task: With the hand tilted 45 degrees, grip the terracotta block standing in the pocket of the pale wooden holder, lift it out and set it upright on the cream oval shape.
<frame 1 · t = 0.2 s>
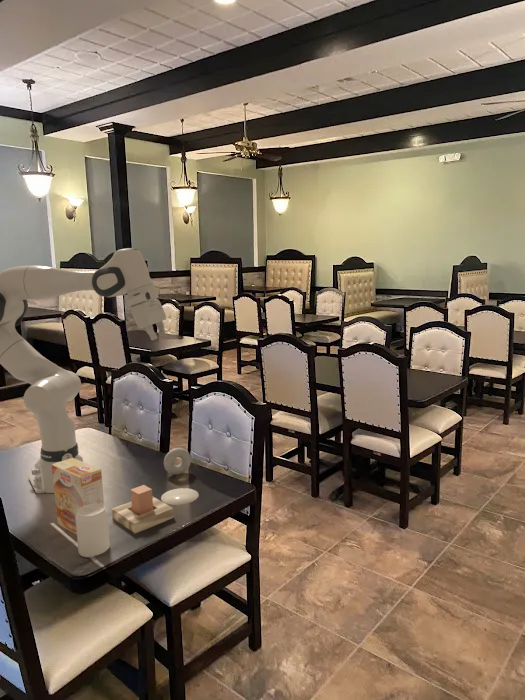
hand: (159, 337, 173), 52 cm above the table, tool tilted 20°, fingers open, 8 cm apart
holder: (143, 520, 160), on the table
cream oval shape: (180, 499, 173), on the table
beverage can: (94, 551, 144), on the table
block: (143, 517, 159), point 1 cm above the table, touching holder
coffeecake box: (81, 530, 155), on the table
donut: (178, 474, 193), on the table
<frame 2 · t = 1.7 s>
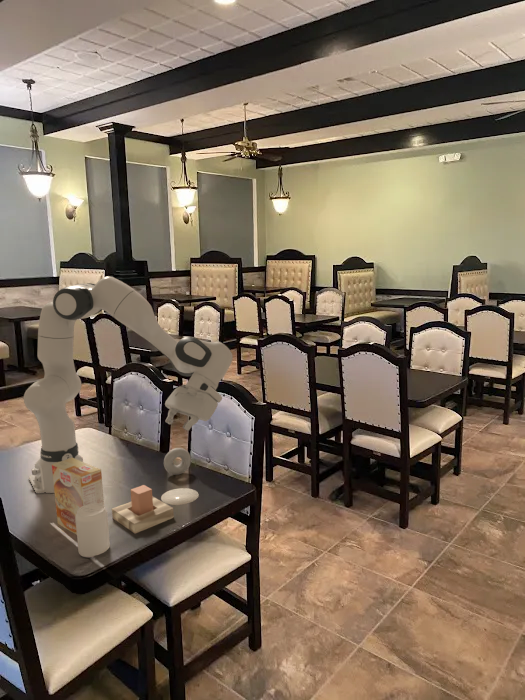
hand: (176, 426, 164), 26 cm above the table, tool tilted 45°, fingers open, 8 cm apart
nothing on the table moved.
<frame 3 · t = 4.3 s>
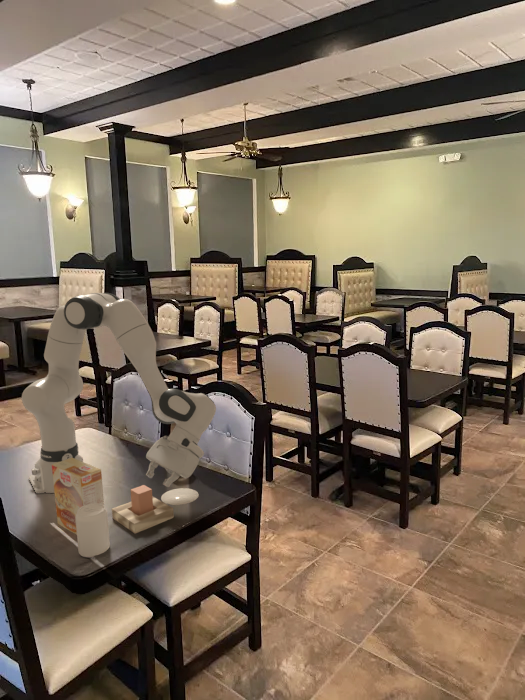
hand: (156, 481, 161), 11 cm above the table, tool tilted 45°, fingers open, 8 cm apart
nothing on the table moved.
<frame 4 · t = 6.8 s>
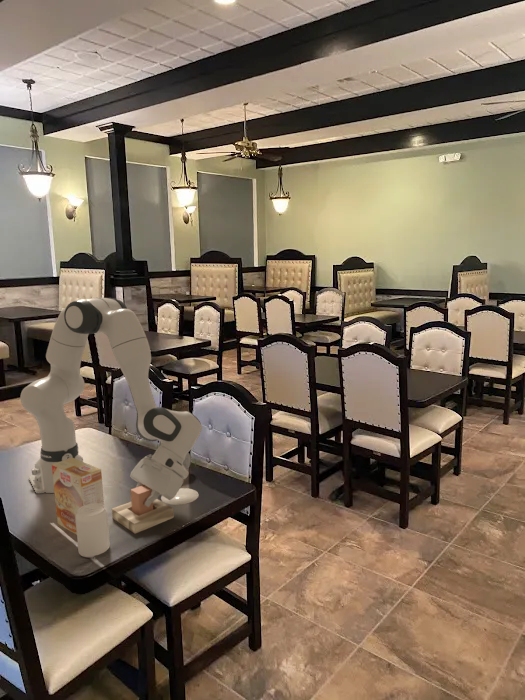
hand: (140, 502, 158), 6 cm above the table, tool tilted 45°, fingers closed on block, 4 cm apart
block: (143, 517, 159), point 1 cm above the table, touching gripper, holder
everything else where it was.
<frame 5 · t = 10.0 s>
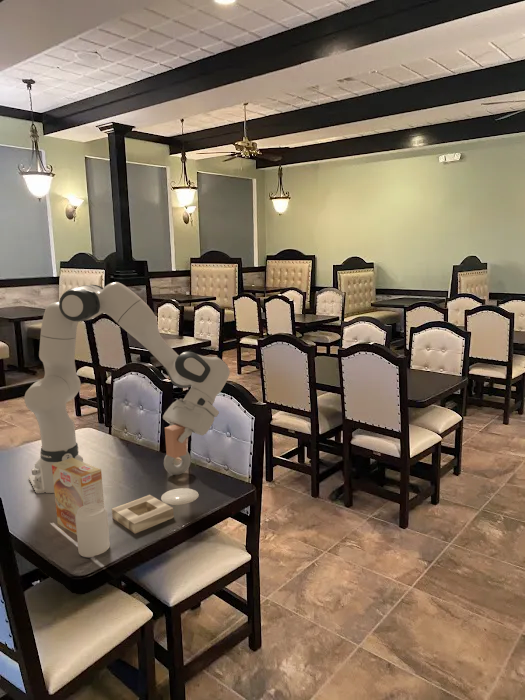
hand: (173, 439, 168), 21 cm above the table, tool tilted 45°, fingers closed on block, 4 cm apart
block: (176, 454, 170), point 16 cm above the table, touching gripper
everything else where it was.
when the fingers open (8 cm above the table, at t = 13.3 s): block drops 1 cm, resting on cream oval shape.
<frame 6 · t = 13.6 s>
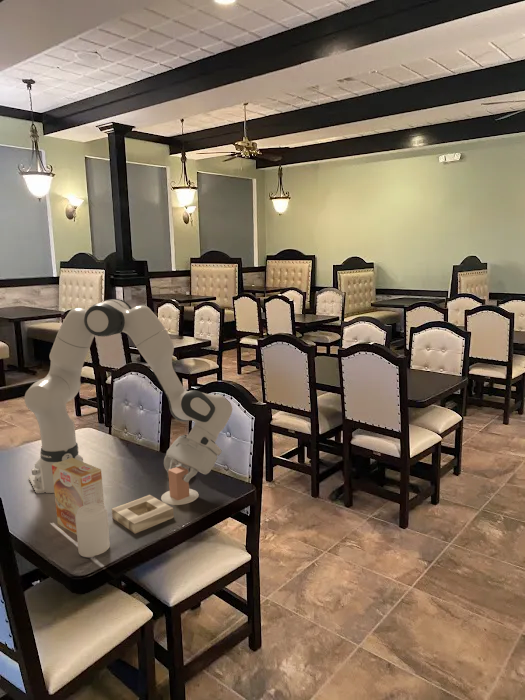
hand: (177, 477, 172), 8 cm above the table, tool tilted 45°, fingers open, 7 cm apart
block: (179, 496, 173), point 1 cm above the table, touching cream oval shape
everything else where it was.
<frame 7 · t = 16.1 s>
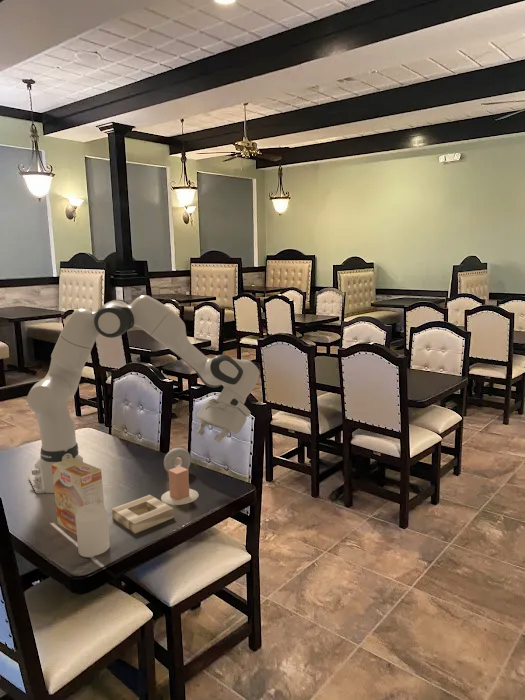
hand: (207, 437, 178), 18 cm above the table, tool tilted 45°, fingers open, 8 cm apart
nothing on the table moved.
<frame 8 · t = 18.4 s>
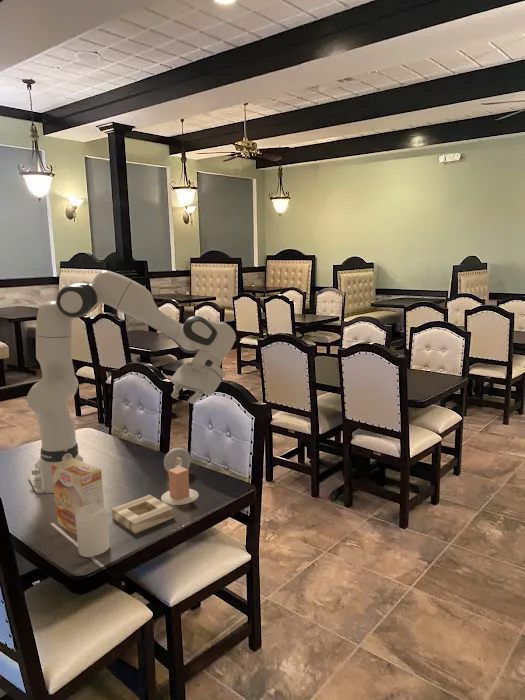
hand: (181, 399, 174), 31 cm above the table, tool tilted 45°, fingers open, 8 cm apart
nothing on the table moved.
at the end: block inside the target area on the cream oval shape (0.1 cm from its centre), point 1.0 cm above the cream oval shape's base; block tilted 0°; the gripper is holding nothing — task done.
